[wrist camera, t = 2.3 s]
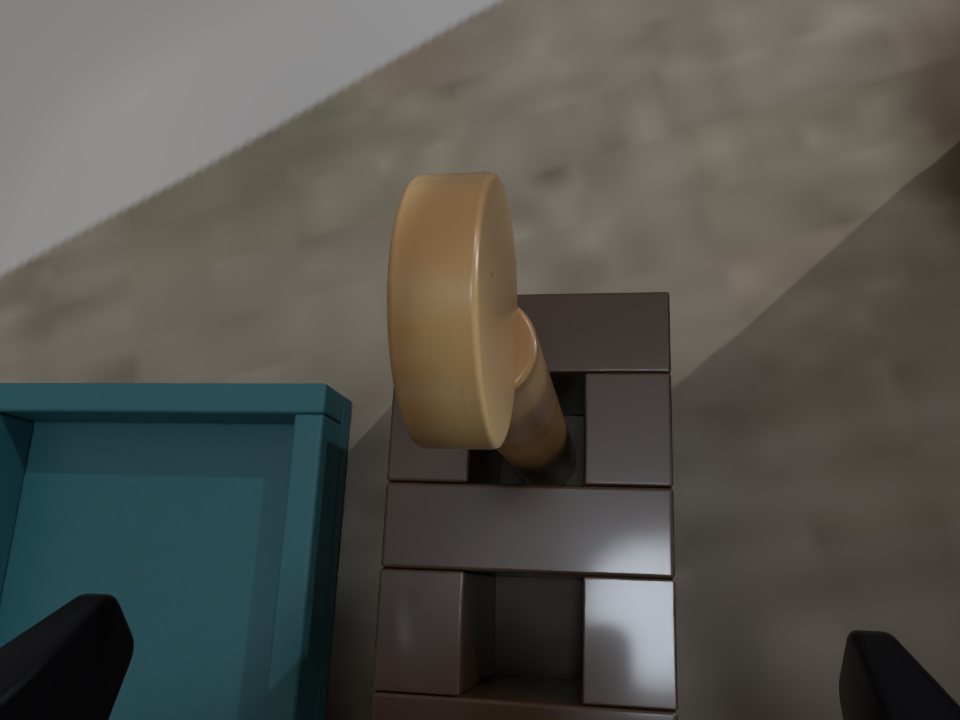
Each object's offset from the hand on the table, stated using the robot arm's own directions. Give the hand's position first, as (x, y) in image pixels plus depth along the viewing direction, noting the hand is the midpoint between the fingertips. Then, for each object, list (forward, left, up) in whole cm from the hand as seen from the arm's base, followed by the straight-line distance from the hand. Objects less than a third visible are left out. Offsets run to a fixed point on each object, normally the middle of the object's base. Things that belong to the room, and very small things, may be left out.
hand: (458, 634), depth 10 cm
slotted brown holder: (+2, +1, -11) cm, 11 cm away
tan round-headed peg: (+4, +2, -11) cm, 12 cm away
